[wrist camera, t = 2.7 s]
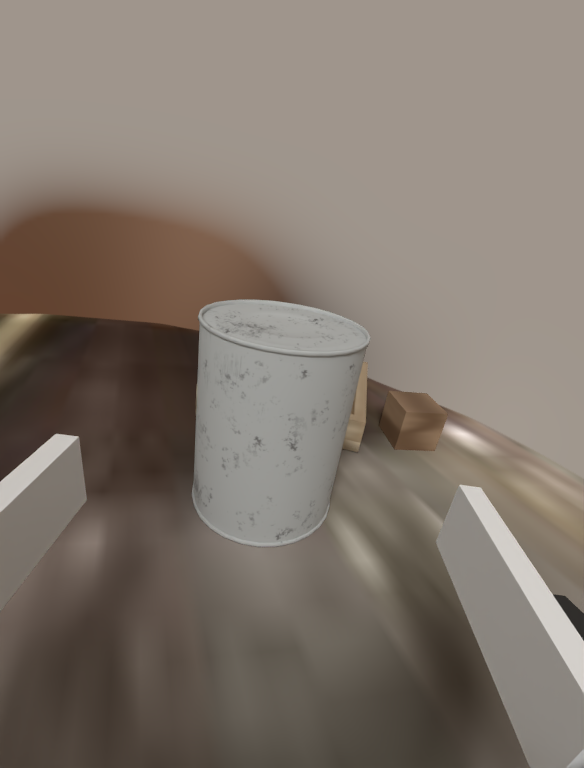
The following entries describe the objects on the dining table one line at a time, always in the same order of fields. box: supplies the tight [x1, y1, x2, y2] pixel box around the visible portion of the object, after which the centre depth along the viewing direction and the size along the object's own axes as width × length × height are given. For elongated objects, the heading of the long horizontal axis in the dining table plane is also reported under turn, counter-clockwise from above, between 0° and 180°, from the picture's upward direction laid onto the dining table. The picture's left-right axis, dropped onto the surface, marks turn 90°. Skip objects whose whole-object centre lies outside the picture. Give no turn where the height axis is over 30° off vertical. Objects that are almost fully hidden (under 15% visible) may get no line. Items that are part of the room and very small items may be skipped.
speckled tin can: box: [192, 300, 371, 547], centre depth 23 cm, size 10×10×12 cm
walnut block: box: [379, 391, 448, 451], centre depth 34 cm, size 4×4×4 cm
